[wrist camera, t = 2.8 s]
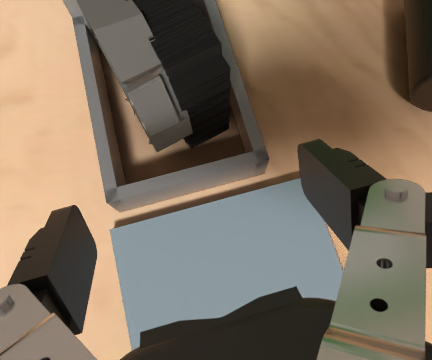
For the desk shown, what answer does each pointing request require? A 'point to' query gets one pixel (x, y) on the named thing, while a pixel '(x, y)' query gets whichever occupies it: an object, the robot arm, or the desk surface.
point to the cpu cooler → (165, 66)
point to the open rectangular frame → (180, 180)
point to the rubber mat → (223, 257)
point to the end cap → (419, 51)
